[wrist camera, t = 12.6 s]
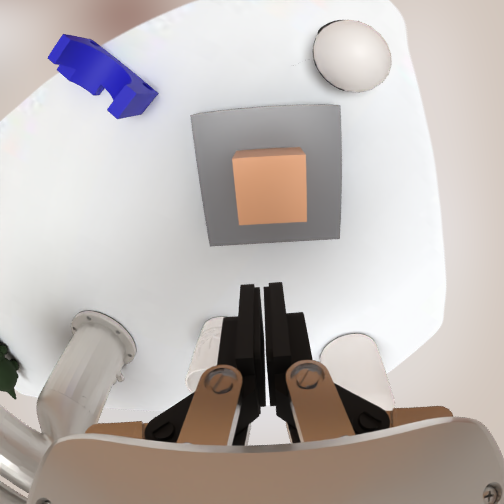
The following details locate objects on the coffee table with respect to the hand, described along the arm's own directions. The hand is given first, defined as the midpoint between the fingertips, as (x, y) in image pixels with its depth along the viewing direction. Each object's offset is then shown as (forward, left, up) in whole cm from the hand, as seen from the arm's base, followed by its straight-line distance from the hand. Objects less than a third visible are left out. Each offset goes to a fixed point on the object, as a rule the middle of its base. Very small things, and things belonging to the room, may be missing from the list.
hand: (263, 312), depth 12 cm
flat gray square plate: (+1, -1, -22) cm, 22 cm away
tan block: (0, -1, -21) cm, 21 cm away
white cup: (-22, +7, -22) cm, 32 cm away
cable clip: (+14, +16, -22) cm, 30 cm away
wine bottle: (-28, -12, -22) cm, 38 cm away
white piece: (+13, -8, -22) cm, 26 cm away
